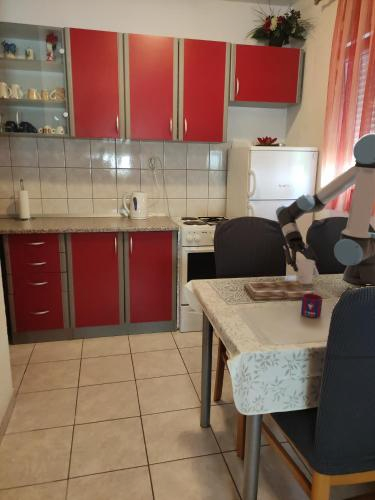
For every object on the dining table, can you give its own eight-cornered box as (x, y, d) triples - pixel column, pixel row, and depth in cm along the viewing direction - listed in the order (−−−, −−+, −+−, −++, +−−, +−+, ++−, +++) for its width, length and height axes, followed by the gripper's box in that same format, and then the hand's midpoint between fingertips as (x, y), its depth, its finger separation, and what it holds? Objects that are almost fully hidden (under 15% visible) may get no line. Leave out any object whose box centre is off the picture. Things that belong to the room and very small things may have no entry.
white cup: (310, 279, 170) (312, 259, 167) (314, 285, 162) (316, 263, 160) (293, 279, 171) (295, 258, 168) (296, 284, 163) (298, 262, 161)
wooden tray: (297, 285, 161) (297, 279, 161) (313, 299, 145) (314, 293, 144) (244, 286, 159) (244, 280, 158) (255, 300, 143) (255, 294, 142)
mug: (299, 316, 128) (301, 297, 127) (304, 306, 137) (305, 289, 135) (319, 320, 125) (321, 301, 124) (322, 310, 134) (324, 292, 133)
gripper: (307, 238, 180) (324, 279, 168) (269, 239, 174) (284, 282, 163) (314, 229, 173) (332, 271, 162) (276, 230, 168) (292, 274, 156)
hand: (308, 276), depth 162 cm, fingers closed on white cup, 8 cm apart
